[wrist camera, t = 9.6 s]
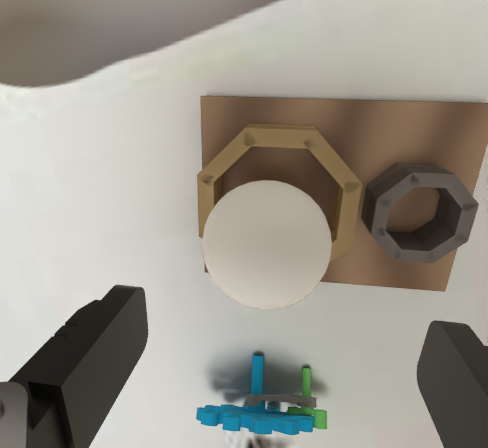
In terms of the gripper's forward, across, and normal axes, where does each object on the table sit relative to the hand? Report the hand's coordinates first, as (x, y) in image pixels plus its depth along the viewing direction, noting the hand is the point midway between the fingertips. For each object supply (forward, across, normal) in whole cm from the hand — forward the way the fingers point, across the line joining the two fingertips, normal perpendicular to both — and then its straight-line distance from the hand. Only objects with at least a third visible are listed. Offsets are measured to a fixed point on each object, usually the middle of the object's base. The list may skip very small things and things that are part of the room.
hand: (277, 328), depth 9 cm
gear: (+16, 0, +20) cm, 26 cm away
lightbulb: (+15, +1, +1) cm, 15 cm away
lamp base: (+16, -3, +1) cm, 17 cm away
